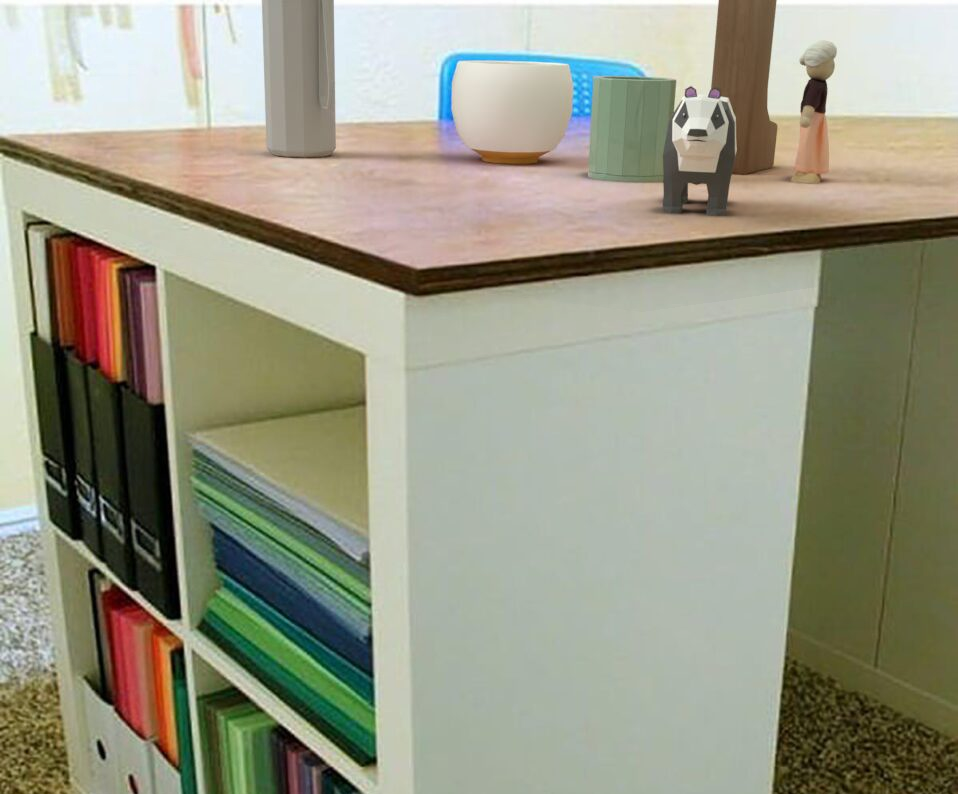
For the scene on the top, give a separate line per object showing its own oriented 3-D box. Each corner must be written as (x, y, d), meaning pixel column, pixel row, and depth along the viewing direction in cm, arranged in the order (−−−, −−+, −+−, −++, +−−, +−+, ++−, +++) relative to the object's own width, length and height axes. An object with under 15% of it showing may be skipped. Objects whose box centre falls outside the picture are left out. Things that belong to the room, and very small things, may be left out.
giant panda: (665, 198, 109) (674, 78, 106) (731, 201, 108) (743, 81, 105) (652, 223, 96) (661, 87, 92) (728, 227, 95) (740, 90, 91)
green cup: (678, 177, 124) (686, 78, 121) (653, 185, 118) (660, 81, 115) (604, 171, 127) (610, 75, 124) (575, 178, 121) (580, 77, 118)
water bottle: (249, 154, 134) (239, -113, 125) (312, 150, 139) (306, -106, 130) (300, 162, 128) (294, -118, 119) (364, 158, 133) (362, -111, 124)
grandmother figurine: (831, 186, 120) (848, 41, 116) (789, 184, 121) (804, 40, 116) (823, 177, 128) (839, 40, 123) (784, 175, 128) (798, 39, 124)
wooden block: (733, 164, 136) (750, -20, 130) (774, 168, 134) (794, -19, 128) (702, 172, 129) (719, -23, 123) (745, 175, 127) (765, -23, 120)
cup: (425, 159, 133) (426, 60, 130) (508, 153, 142) (511, 60, 138) (512, 171, 125) (516, 65, 122) (594, 163, 134) (599, 65, 130)
